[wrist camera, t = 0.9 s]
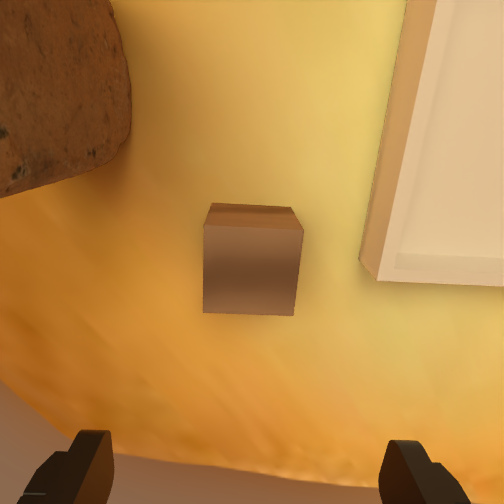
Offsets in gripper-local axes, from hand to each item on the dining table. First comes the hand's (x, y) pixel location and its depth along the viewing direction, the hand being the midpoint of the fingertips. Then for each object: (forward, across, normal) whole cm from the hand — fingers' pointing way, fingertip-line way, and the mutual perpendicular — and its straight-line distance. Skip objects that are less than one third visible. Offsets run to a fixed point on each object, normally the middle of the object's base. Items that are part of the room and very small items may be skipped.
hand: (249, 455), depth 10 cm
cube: (+18, 0, 0) cm, 18 cm away
